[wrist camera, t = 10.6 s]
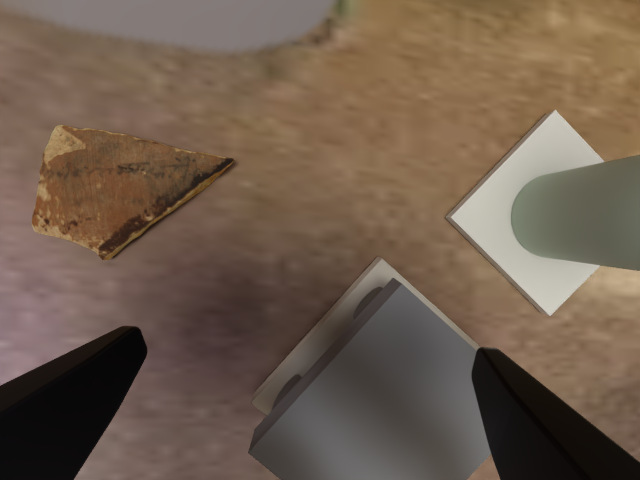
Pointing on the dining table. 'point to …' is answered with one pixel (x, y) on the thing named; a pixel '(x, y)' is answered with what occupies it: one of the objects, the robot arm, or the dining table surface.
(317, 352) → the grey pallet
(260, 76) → the dining table surface
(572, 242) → the roller
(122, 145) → the shard
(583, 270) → the pad
